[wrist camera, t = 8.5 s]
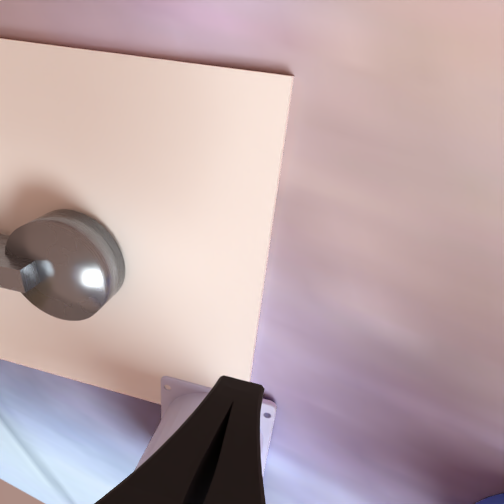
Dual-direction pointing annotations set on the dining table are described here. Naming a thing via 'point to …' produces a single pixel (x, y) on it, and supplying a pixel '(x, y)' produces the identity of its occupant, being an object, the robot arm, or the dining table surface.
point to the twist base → (144, 208)
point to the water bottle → (493, 499)
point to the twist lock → (62, 264)
